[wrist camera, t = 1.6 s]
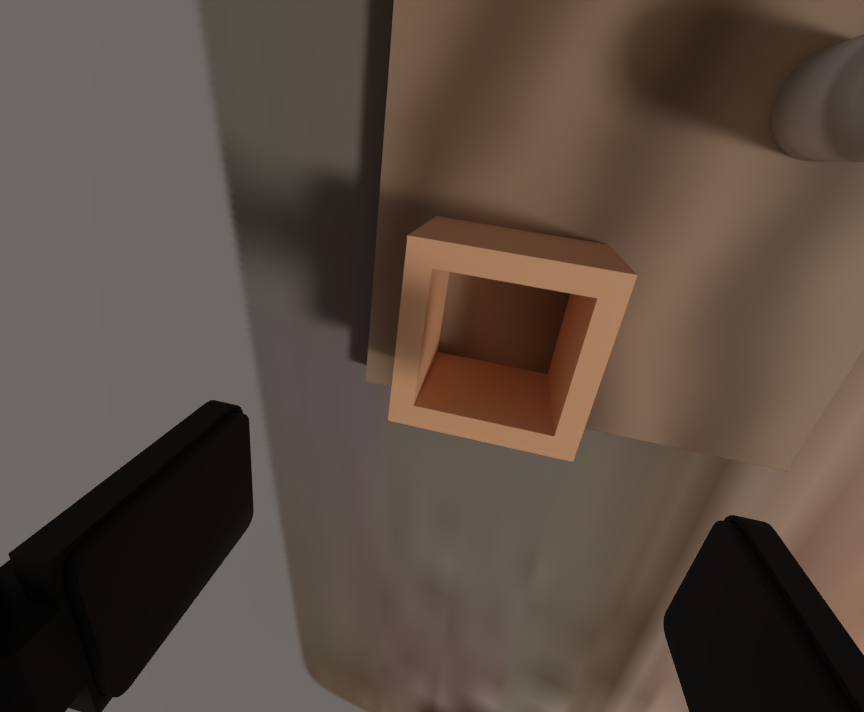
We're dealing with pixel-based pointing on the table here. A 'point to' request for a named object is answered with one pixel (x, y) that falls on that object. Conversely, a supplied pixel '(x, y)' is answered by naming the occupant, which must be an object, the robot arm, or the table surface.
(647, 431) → the post board
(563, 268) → the collar
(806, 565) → the table surface
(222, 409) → the robot arm
